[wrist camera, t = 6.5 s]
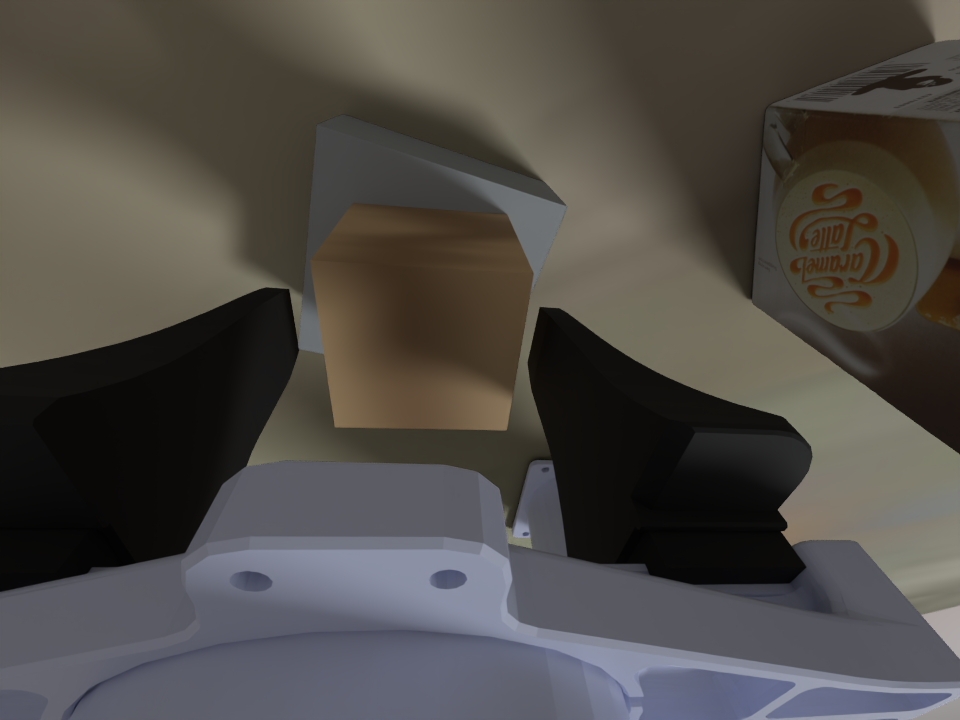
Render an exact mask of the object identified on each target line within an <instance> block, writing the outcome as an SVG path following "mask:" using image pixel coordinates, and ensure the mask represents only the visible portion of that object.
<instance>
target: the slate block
mask: <svg viewBox="0 0 960 720" xmlns="http://www.w3.org/2000/svg"><path fill="white" fill-rule="evenodd" d="M352 203H361V204H374V205H388V206H401V207H414V208H428V209H441V210H455V211H468V212H481V213H495V214H507V215H508V217H509V219H510V221H511V224H512V226H513V228H514V230H515V233H516V235H517V237H518V239H519V241H520V244H521V246H522V248H523V250H524V253H525V255H526V257H527V259H528V262H529V264H530V266H531V268H532V270H533V273H534V276H533V282H532V288H531V293H532V290H533V288H534V285H535V283H536V281H537V278H538V276H539V274H540V271H541V269H542V266H543V264H544V262H545V259H546V257H547V254H548V252H549V250H550V247H551V245H552V243H553V240H554V238H555V235H556V233H557V231H558V228H559V226H560V223H561V221H562V219H563V216H564V214H565V212H566V209H567V206H566V204H565V203H564V202H563V201H562V200H561V199H560V198H559V197H558V196H557V195H556V194H555V193H554V191H553V190H552V189H551V188H550V187H549V186H548V185H547V184H546V183H545V182H542V181H539V180H536V179H533V178H530V177H527V176H524V175H522V174H519V173H516V172H513V171H510V170H507V169H504V168H501V167H498V166H495V165H492V164H489V163H486V162H483V161H480V160H477V159H474V158H471V157H468V156H465V155H462V154H459V153H457V152H454V151H451V150H448V149H445V148H442V147H439V146H436V145H433V144H430V143H427V142H424V141H421V140H418V139H415V138H412V137H409V136H406V135H403V134H400V133H397V132H394V131H391V130H389V129H386V128H383V127H380V126H377V125H374V124H371V123H368V122H365V121H362V120H359V119H356V118H353V117H350V116H347V115H344V114H342V115H339V116H337V117H334V118H332V119H329V120H327V121H324V122H322V123H319V124H317V128H316V140H315V152H314V164H313V176H312V188H311V200H310V212H309V224H308V236H307V248H306V260H305V272H304V285H303V297H302V309H301V321H300V333H299V345H298V347H299V349H301V350H306V351H311V352H316V353H321V354H324V351H323V344H322V337H321V331H320V324H319V317H318V311H317V304H316V297H315V291H314V284H313V277H312V270H311V264H310V260H311V258H312V257H313V256H314V254H315V253H316V252H317V250H318V249H319V248H320V246H321V245H322V244H323V242H324V241H325V240H326V238H327V237H328V236H329V234H330V233H331V231H332V230H333V229H334V227H335V226H336V225H337V223H338V222H339V221H340V219H341V218H342V217H343V215H344V214H345V213H346V211H347V210H348V209H349V207H350V206H351V205H352ZM531 293H530V295H531Z"/></svg>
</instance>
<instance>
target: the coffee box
mask: <svg viewBox="0 0 960 720" xmlns="http://www.w3.org/2000/svg"><path fill="white" fill-rule="evenodd" d="M752 303H753V304H754V305H755V306H756V307H757V308H759V309H761V310H762V311H763V312H765V313H766V314H767V315H769V316H770V317H772V318H773V319H774V320H776V321H777V322H778V323H780V324H781V325H783V326H784V327H785V328H787V329H788V330H790V331H791V332H792V333H793V334H795V335H796V336H798V337H799V338H801V339H802V340H803V341H804V342H806V343H807V344H809V345H810V346H811V347H813V348H814V349H816V350H817V351H818V352H820V353H821V354H822V355H824V356H826V357H827V358H829V359H830V360H831V361H832V362H833V363H835V364H836V365H838V366H839V367H841V368H842V369H843V370H844V371H846V372H847V373H848V374H850V375H851V376H853V377H854V378H856V379H857V380H858V381H859V382H861V383H862V384H864V385H866V386H867V387H868V388H869V389H871V390H872V391H874V392H875V393H877V394H878V395H879V396H880V397H881V398H883V399H884V400H885V401H887V402H888V403H890V404H891V405H892V406H894V407H895V408H896V409H898V410H899V411H901V412H902V413H903V414H905V415H906V416H907V417H909V418H910V419H912V420H913V421H914V422H916V423H917V424H919V425H920V426H921V427H923V428H924V429H925V430H927V431H928V432H929V433H931V434H932V435H934V436H935V437H936V438H938V439H939V440H941V441H942V442H944V443H945V444H946V445H948V446H949V447H951V448H952V449H953V450H955V451H956V452H957V453H959V454H960V40H948V41H941V42H936V43H932V44H929V45H926V46H923V47H920V48H918V49H915V50H913V51H910V52H907V53H905V54H902V55H899V56H897V57H894V58H891V59H889V60H886V61H884V62H881V63H878V64H876V65H873V66H871V67H868V68H865V69H862V70H860V71H857V72H854V73H852V74H849V75H846V76H844V77H841V78H838V79H836V80H833V81H830V82H828V83H825V84H822V85H820V86H817V87H814V88H812V89H809V90H807V91H804V92H802V93H799V94H796V95H794V96H791V97H789V98H786V99H783V100H781V101H778V102H775V103H773V104H771V105H770V106H768V107H767V110H766V113H765V123H764V136H763V150H762V164H761V178H760V192H759V206H758V220H757V233H756V249H755V264H754V278H753V293H752Z"/></svg>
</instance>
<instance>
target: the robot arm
mask: <svg viewBox="0 0 960 720" xmlns="http://www.w3.org/2000/svg"><path fill="white" fill-rule="evenodd" d="M298 352H299V347H298V340H297V334H296V328H295V322H294V316H293V310H292V304H291V298H290V292H289V289H280V288H263V289H259V290H256V291H254V292H251V293H249V294H246V295H244V296H242V297H240V298H237V299H235V300H233V301H231V302H228V303H226V304H224V305H222V306H219V307H217V308H215V309H213V310H210V311H208V312H206V313H203V314H201V315H198V316H196V317H193V318H191V319H188V320H186V321H183V322H181V323H178V324H176V325H173V326H171V327H168V328H165V329H163V330H160V331H157V332H154V333H151V334H148V335H145V336H141V337H138V338H135V339H132V340H128V341H125V342H122V343H118V344H114V345H110V346H106V347H102V348H98V349H94V350H90V351H85V352H81V353H77V354H73V355H69V356H64V357H59V358H54V359H49V360H44V361H39V362H33V363H28V364H22V365H16V366H10V367H4V368H0V720H911V719H913V718H915V717H918V716H920V715H922V714H924V713H926V712H928V711H931V710H933V709H935V708H937V707H939V706H942V705H944V704H946V703H948V702H950V701H952V700H955V699H957V698H959V697H960V659H959V658H958V657H957V656H956V655H955V653H954V652H953V651H952V650H951V649H950V648H949V646H947V644H946V643H945V642H944V641H943V640H942V639H941V637H940V636H939V635H938V634H937V633H936V632H935V630H933V628H932V627H931V626H930V625H929V624H928V623H927V621H926V620H925V619H924V618H923V617H922V616H921V615H920V613H919V612H918V611H917V610H916V609H915V608H914V607H913V605H912V604H911V603H910V602H909V601H908V600H907V599H906V597H905V596H904V595H903V594H902V593H901V592H900V591H899V589H898V588H897V587H896V586H895V585H894V584H893V583H892V581H891V580H890V579H889V578H888V577H887V576H886V575H885V574H884V572H883V571H882V570H881V569H880V568H879V567H878V566H877V564H876V563H875V562H874V561H873V560H872V559H871V558H870V556H869V555H868V554H867V553H866V552H865V551H864V550H863V548H862V547H861V546H860V545H859V544H858V543H857V542H855V541H851V540H809V541H802V542H800V543H797V544H794V545H793V546H791V545H790V544H789V542H788V541H787V540H786V538H785V537H784V535H783V534H782V533H781V531H785V530H786V528H787V522H786V521H785V519H784V518H783V517H782V515H781V514H780V513H779V511H778V508H779V507H780V506H781V505H782V504H783V503H784V501H785V500H786V499H787V498H788V497H789V496H790V494H791V493H792V492H793V491H794V490H795V489H796V487H797V486H798V485H799V484H800V483H801V481H802V480H803V478H804V477H805V475H806V474H807V472H808V471H809V467H810V464H811V460H812V451H811V446H810V445H809V444H808V443H807V441H806V440H805V439H804V438H803V437H802V436H801V435H800V434H799V433H798V432H797V431H796V429H795V428H794V427H793V426H792V425H791V424H790V423H789V422H788V421H787V420H786V419H785V418H783V417H782V416H778V415H774V414H771V413H767V412H764V411H760V410H756V409H753V408H749V407H746V406H742V405H738V404H735V403H732V402H729V401H726V400H723V399H720V398H717V397H714V396H712V395H709V394H706V393H703V392H701V391H698V390H696V389H693V388H690V387H688V386H686V385H683V384H681V383H679V382H677V381H674V380H672V379H670V378H668V377H665V376H663V375H661V374H659V373H657V372H655V371H653V370H651V369H650V368H648V367H646V366H644V365H642V364H640V363H639V362H637V361H635V360H633V359H632V358H630V357H628V356H627V355H625V354H624V353H622V352H621V351H619V350H617V349H616V348H614V347H613V346H611V345H610V344H609V343H607V342H606V341H604V340H603V339H601V338H600V337H599V336H597V335H596V334H595V333H593V332H592V331H591V330H589V329H588V328H587V327H585V326H584V325H583V324H581V323H580V322H579V321H577V320H576V319H575V318H573V317H572V316H571V315H569V314H568V313H566V312H565V311H563V310H561V309H560V308H546V307H540V309H539V313H538V318H537V322H536V327H535V331H534V336H533V341H532V345H531V350H530V354H529V359H528V370H529V377H530V383H531V389H532V393H533V396H534V400H535V403H536V406H537V410H538V413H539V416H540V419H541V423H542V426H543V429H544V432H545V436H546V439H547V442H548V445H549V449H550V453H551V457H552V460H535V461H533V462H531V463H530V465H529V468H528V471H527V475H526V479H525V483H524V486H523V490H522V494H521V497H520V501H519V505H518V509H517V512H516V516H515V520H514V524H513V527H512V535H513V536H514V537H517V538H531V543H532V548H533V549H530V548H526V547H521V546H517V545H512V544H508V541H507V533H506V526H505V518H504V511H503V505H502V500H501V495H500V489H499V488H498V487H497V486H495V485H494V484H493V483H491V482H490V481H489V480H488V479H486V478H485V477H484V476H482V475H481V474H480V473H479V472H476V471H474V470H469V469H464V468H459V467H454V466H449V465H445V464H409V463H366V462H324V461H280V462H274V463H267V464H261V465H254V466H248V467H246V466H247V463H248V461H249V458H250V455H251V453H252V450H253V448H254V446H255V444H256V442H257V440H258V438H259V436H260V434H261V432H262V430H263V428H264V426H265V425H266V423H267V421H268V419H269V417H270V415H271V413H272V411H273V410H274V408H275V406H276V404H277V402H278V400H279V398H280V396H281V395H282V393H283V391H284V389H285V387H286V385H287V383H288V381H289V379H290V377H291V374H292V371H293V368H294V365H295V362H296V359H297V356H298ZM544 467H546V468H544Z"/></svg>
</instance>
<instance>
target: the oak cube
mask: <svg viewBox="0 0 960 720" xmlns="http://www.w3.org/2000/svg"><path fill="white" fill-rule="evenodd" d="M310 264H311V270H312V277H313V284H314V291H315V297H316V304H317V311H318V317H319V324H320V331H321V337H322V344H323V351H324V358H325V364H326V371H327V378H328V384H329V391H330V398H331V404H332V411H333V418H334V424H335V427H341V428H398V429H456V430H507V426H508V420H509V414H510V408H511V403H512V397H513V391H514V385H515V380H516V374H517V368H518V362H519V357H520V351H521V345H522V339H523V334H524V328H525V322H526V316H527V311H528V305H529V299H530V293H531V288H532V282H533V276H534V273H533V270H532V268H531V266H530V264H529V262H528V259H527V257H526V255H525V253H524V250H523V248H522V246H521V244H520V241H519V239H518V237H517V235H516V233H515V230H514V228H513V226H512V224H511V221H510V219H509V217H508V215H507V214H495V213H481V212H468V211H455V210H441V209H428V208H414V207H401V206H388V205H374V204H361V203H352V205H351V206H350V207H349V209H348V210H347V211H346V213H345V214H344V215H343V217H342V218H341V219H340V221H339V222H338V223H337V225H336V226H335V227H334V229H333V230H332V231H331V233H330V234H329V236H328V237H327V238H326V240H325V241H324V242H323V244H322V245H321V246H320V248H319V249H318V250H317V252H316V253H315V254H314V256H313V257H312V258H311V260H310Z"/></svg>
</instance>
